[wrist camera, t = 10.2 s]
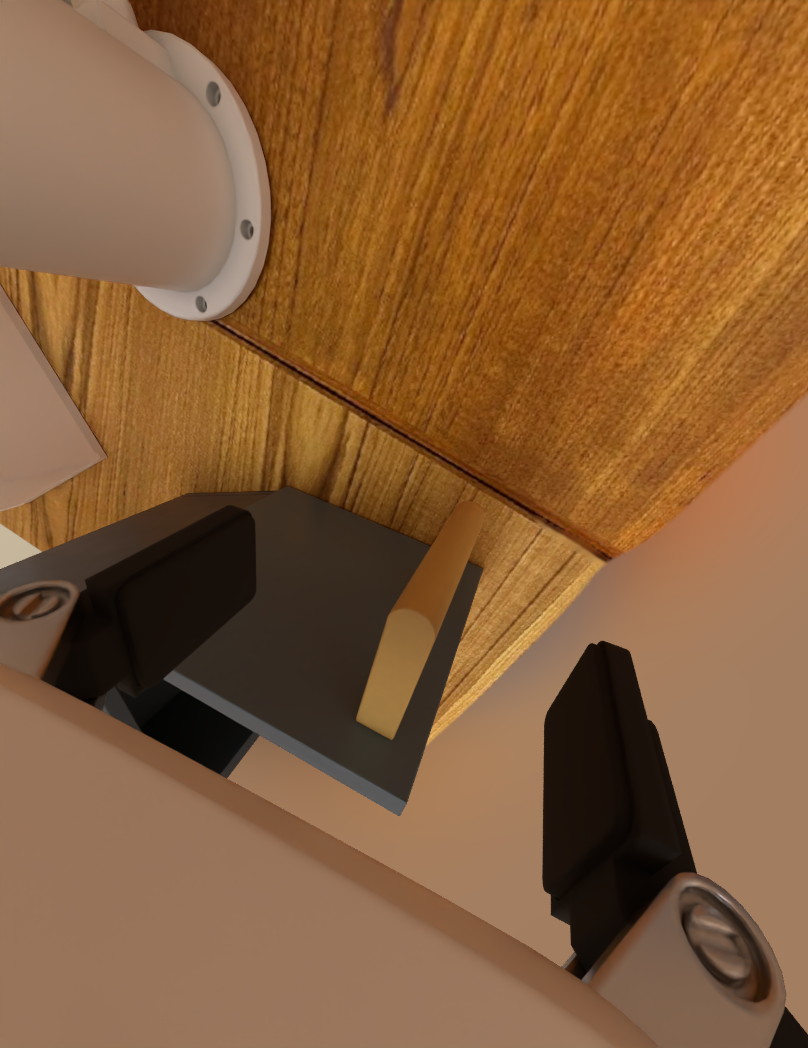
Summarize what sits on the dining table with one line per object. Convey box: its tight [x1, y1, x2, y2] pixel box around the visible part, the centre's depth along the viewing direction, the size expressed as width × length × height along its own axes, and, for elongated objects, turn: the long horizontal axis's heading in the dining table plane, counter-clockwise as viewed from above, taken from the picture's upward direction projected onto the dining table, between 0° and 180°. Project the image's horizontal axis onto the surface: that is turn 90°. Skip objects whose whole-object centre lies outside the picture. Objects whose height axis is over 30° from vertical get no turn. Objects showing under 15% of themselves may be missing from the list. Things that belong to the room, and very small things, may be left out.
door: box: [164, 486, 485, 816], centre depth 19 cm, size 7×16×15 cm, turn 75°
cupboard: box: [0, 491, 277, 778], centre depth 27 cm, size 10×16×16 cm, turn 9°
